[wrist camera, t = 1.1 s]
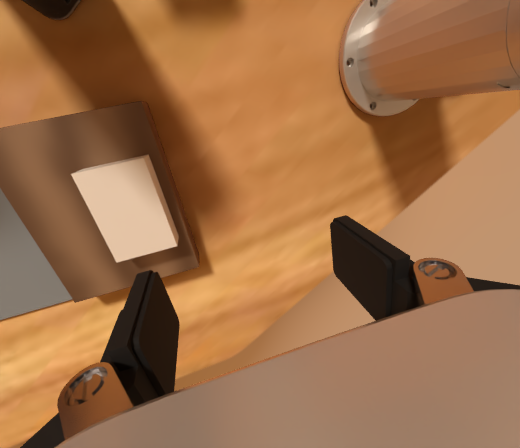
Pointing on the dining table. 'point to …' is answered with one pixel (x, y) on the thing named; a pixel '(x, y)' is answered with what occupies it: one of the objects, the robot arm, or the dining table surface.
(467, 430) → the robot arm
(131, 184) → the tile
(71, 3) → the electronic device
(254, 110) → the dining table surface
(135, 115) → the plate
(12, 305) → the mat
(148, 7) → the dining table surface
